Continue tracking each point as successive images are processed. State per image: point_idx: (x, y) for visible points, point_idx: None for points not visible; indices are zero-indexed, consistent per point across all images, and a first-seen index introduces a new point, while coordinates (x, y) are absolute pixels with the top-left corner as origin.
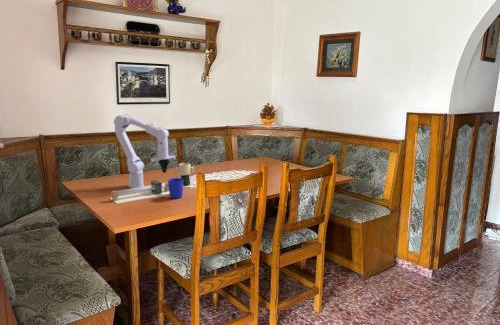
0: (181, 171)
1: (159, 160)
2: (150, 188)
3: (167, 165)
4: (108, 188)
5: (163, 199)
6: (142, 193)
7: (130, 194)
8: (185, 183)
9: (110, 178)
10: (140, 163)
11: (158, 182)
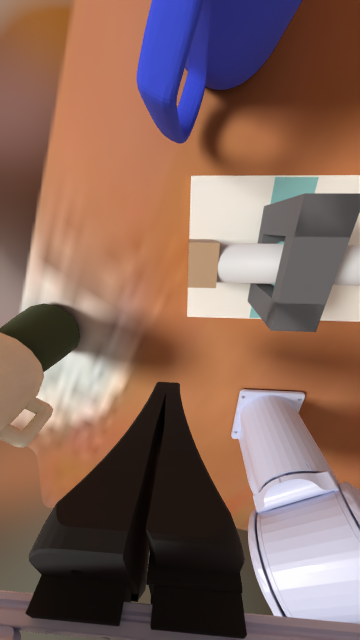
0: (8, 369)
1: (245, 629)
2: (355, 245)
3: (118, 446)
4: (354, 450)
5: (344, 33)
6: (337, 297)
7: None
8: (51, 310)
9: None
10: (307, 588)
11: (310, 238)
